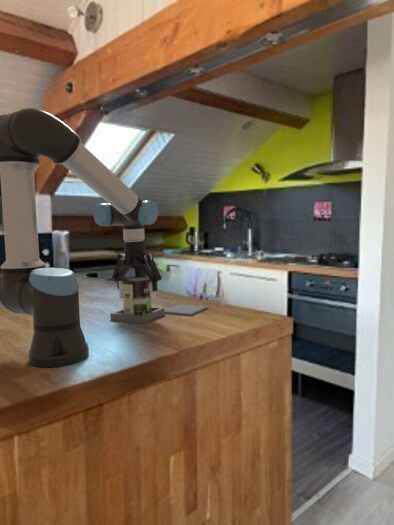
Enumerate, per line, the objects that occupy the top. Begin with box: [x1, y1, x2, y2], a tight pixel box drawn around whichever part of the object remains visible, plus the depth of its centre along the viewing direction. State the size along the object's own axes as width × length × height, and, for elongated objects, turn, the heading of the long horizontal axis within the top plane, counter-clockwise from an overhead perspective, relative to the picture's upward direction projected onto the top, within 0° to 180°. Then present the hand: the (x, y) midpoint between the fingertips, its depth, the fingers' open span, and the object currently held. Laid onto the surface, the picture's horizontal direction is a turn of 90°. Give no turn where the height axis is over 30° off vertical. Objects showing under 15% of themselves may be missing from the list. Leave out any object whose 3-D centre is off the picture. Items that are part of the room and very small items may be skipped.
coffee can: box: [122, 276, 153, 315], centre depth 154 cm, size 10×10×14 cm
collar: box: [109, 306, 165, 324], centre depth 155 cm, size 14×14×2 cm
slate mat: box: [164, 303, 208, 317], centre depth 163 cm, size 13×13×1 cm
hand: (137, 299), depth 155 cm, fingers open, 13 cm apart
